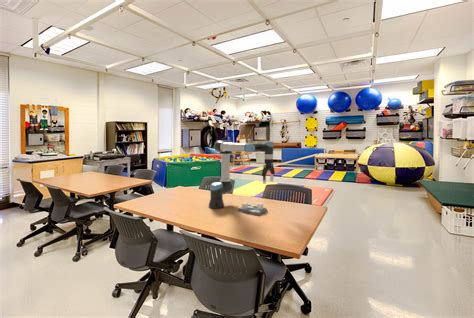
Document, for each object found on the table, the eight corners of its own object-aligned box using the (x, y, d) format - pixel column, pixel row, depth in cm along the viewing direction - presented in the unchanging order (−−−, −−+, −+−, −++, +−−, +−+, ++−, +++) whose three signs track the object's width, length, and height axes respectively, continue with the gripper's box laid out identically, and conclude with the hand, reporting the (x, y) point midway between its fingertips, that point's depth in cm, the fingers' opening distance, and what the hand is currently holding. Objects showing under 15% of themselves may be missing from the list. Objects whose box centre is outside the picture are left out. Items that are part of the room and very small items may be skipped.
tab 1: (242, 208, 226) (242, 203, 225) (244, 207, 229) (244, 202, 228) (245, 209, 223) (245, 204, 223) (248, 208, 226) (248, 203, 226)
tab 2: (257, 209, 224) (257, 203, 224) (259, 208, 228) (259, 202, 227) (261, 210, 222) (261, 204, 222) (263, 209, 225) (263, 203, 225)
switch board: (237, 211, 226) (237, 208, 225) (247, 207, 239) (247, 204, 238) (258, 215, 213) (258, 212, 213) (267, 211, 226) (267, 208, 225)
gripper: (265, 160, 205) (265, 185, 207) (278, 158, 225) (278, 180, 227) (257, 159, 209) (257, 184, 211) (271, 157, 229) (271, 180, 231)
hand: (268, 182), depth 219 cm, fingers open, 13 cm apart
